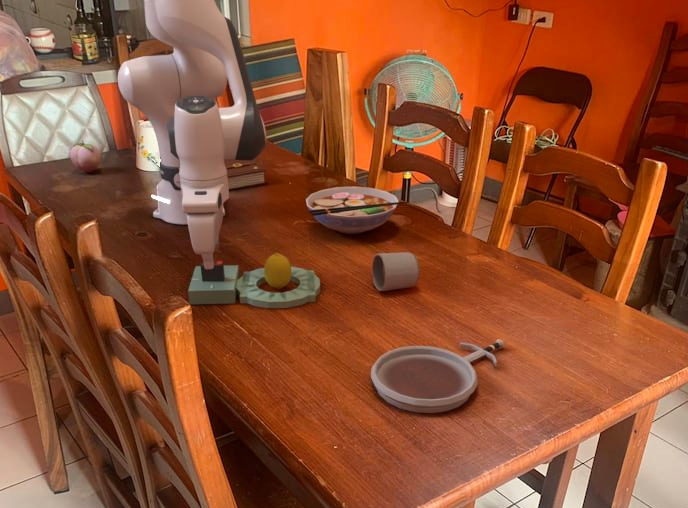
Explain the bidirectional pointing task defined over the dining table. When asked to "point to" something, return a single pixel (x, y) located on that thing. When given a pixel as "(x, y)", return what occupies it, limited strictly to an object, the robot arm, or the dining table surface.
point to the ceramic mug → (395, 271)
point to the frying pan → (428, 377)
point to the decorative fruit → (85, 156)
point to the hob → (296, 297)
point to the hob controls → (214, 287)
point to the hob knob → (213, 272)
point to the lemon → (277, 271)
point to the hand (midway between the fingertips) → (212, 258)
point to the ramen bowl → (352, 208)
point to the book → (243, 174)
